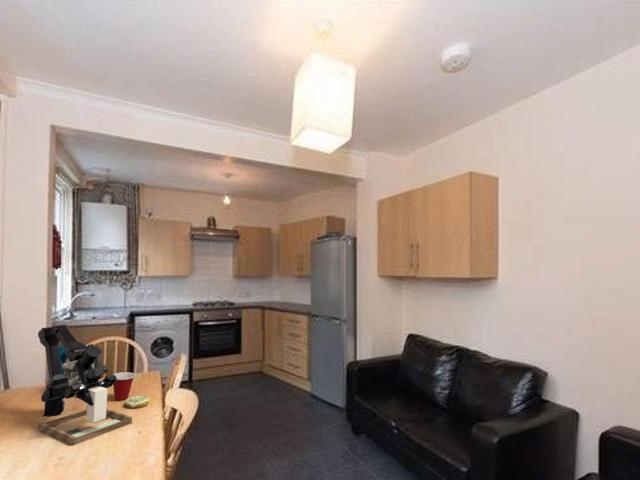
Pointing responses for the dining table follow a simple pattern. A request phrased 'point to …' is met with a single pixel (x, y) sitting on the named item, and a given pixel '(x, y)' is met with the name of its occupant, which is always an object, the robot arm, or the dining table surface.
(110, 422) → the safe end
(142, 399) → the decorated donut
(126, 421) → the brown flat frame
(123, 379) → the plastic cup
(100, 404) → the pale cream block
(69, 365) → the apothecary jar
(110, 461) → the dining table surface
